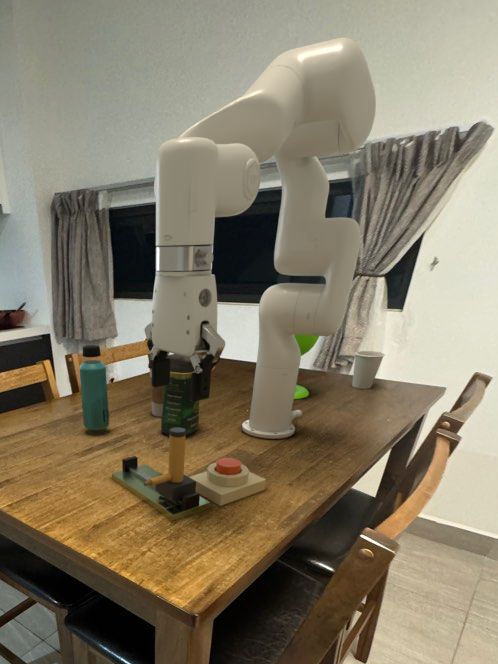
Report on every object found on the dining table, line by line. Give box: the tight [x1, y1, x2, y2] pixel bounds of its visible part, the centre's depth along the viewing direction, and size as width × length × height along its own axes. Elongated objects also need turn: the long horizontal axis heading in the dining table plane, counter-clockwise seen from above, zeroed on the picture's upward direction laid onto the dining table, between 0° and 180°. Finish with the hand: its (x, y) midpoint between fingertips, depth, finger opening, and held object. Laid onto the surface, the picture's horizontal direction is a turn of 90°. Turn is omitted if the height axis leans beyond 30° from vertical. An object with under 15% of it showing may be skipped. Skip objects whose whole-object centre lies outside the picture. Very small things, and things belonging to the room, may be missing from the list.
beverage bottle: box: [78, 344, 110, 431], centre depth 106 cm, size 6×7×20 cm
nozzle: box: [144, 427, 196, 504], centre depth 74 cm, size 9×5×12 cm, turn 123°
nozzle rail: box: [111, 455, 211, 522], centre depth 82 cm, size 8×20×4 cm, turn 33°
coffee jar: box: [160, 353, 203, 437], centre depth 106 cm, size 10×8×19 cm
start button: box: [215, 457, 242, 475], centre depth 82 cm, size 4×4×2 cm
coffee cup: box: [147, 358, 164, 418], centre depth 119 cm, size 8×8×15 cm
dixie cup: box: [351, 350, 385, 390], centre depth 141 cm, size 8×8×10 cm
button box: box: [188, 461, 267, 507], centre depth 83 cm, size 11×9×4 cm
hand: (179, 392), depth 69 cm, fingers open, 9 cm apart
